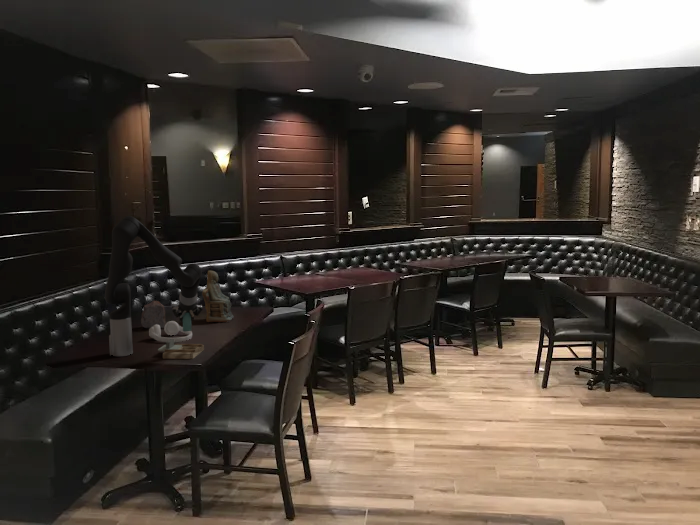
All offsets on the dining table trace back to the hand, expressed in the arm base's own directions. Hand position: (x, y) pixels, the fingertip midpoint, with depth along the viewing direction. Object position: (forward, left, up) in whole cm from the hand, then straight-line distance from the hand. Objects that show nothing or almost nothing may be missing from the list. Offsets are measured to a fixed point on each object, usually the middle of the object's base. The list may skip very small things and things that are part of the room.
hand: (186, 319), depth 273 cm
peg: (+1, -2, -5) cm, 5 cm away
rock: (-36, +54, -16) cm, 67 cm away
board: (-1, -2, -16) cm, 16 cm away
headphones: (-17, +28, -16) cm, 37 cm away
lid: (-8, -2, -13) cm, 16 cm away
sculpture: (-6, +74, -16) cm, 76 cm away
